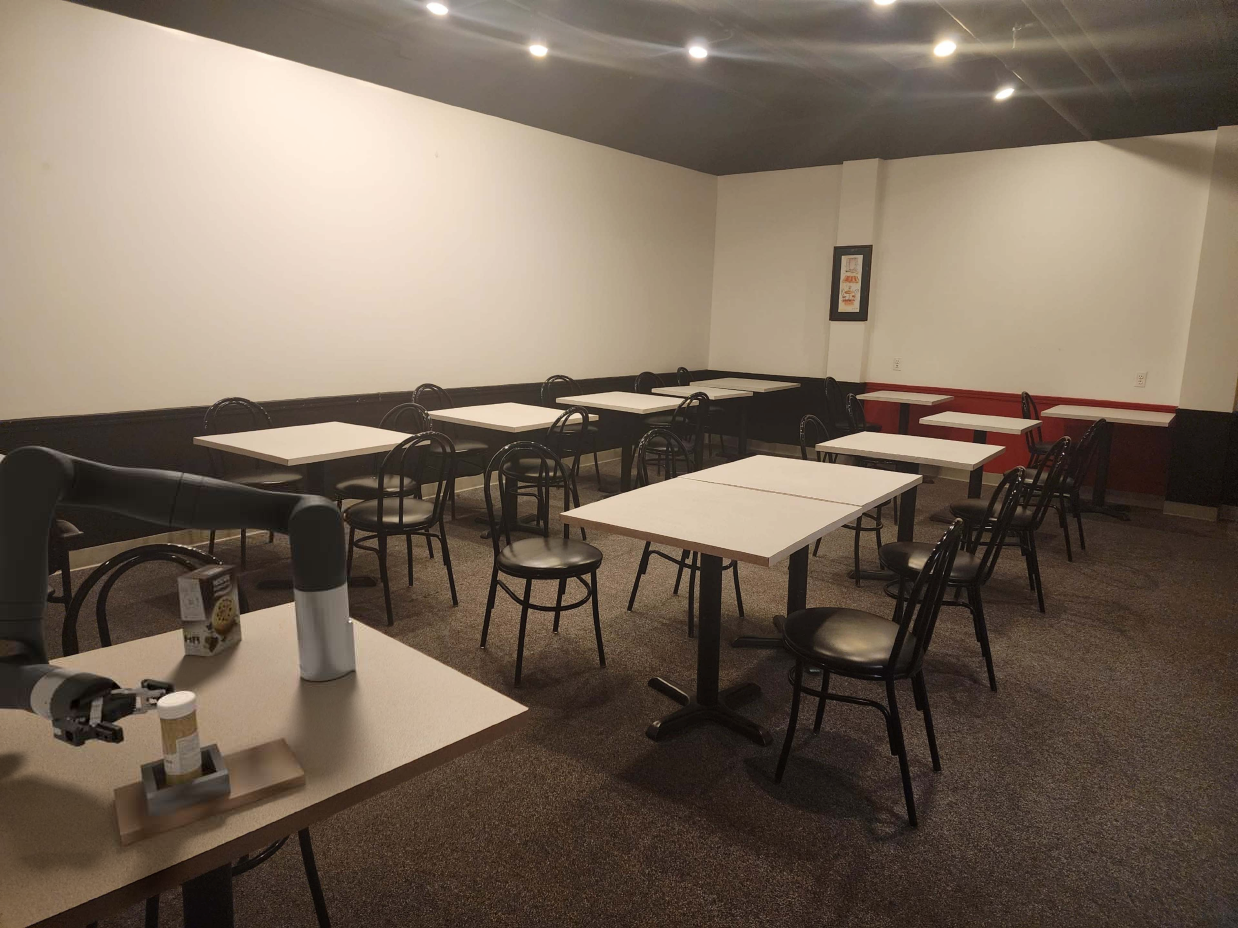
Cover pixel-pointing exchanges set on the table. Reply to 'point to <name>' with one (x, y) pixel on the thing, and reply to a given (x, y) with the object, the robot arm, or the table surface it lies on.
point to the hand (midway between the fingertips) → (151, 720)
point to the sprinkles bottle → (180, 737)
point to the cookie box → (209, 609)
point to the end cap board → (204, 788)
